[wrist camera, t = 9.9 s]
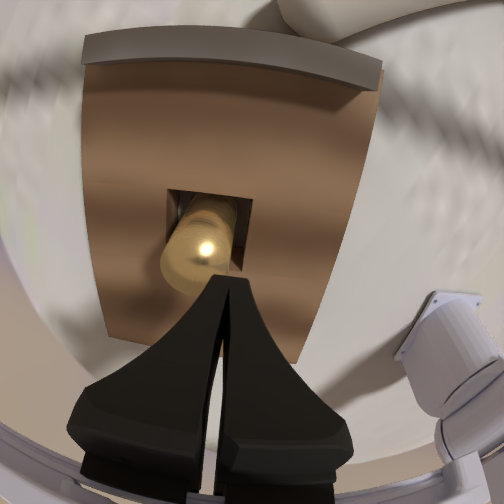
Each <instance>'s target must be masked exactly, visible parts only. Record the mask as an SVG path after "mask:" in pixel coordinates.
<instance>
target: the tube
mask: <svg viewBox="0 0 504 504" xmlns="http://www.w3.org/2000/svg"><path fill="white" fill-rule="evenodd" d="M276 1H277V3H278V6H279V9H280V12H281V15H282V18H283V20H284V21H285V22H286V23H287V24H288V25H289V26H290V27H291V28H292V29H293V30H294V31H295V32H296V33H297V34H298V35H299V36H300V37H302V38H307V39H311V40H316V41H320V42H324V43H328V44H332V43H334V42H337V41H339V40H341V39H343V38H346V37H348V36H351V35H353V34H355V33H358V32H360V31H363V30H365V29H368V28H371V27H373V26H376V25H379V24H381V23H384V22H387V21H390V20H393V19H396V18H399V17H402V16H405V15H408V14H412V13H415V12H419V11H422V10H426V9H430V8H434V7H438V6H442V5H446V4H451V3H456V2H461V1H466V0H276Z"/></svg>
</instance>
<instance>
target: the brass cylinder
mask: <svg viewBox="0 0 504 504" xmlns="http://www.w3.org/2000/svg"><path fill="white" fill-rule="evenodd" d="M236 217H237V205H236V202H235V200H234V199H233V197H232V196H227V195H220V194H212V193H203V192H198V193H197V194H196V195H195V196H194V197H193V199H192V200H191V202H190V204H189V206H188V207H187V209H186V211H185V213H184V214H183V216H182V218H181V220H180V221H179V223H178V225H177V227H176V229H175V230H174V232H173V234H172V236H171V238H170V240H169V242H168V243H167V245H166V247H165V249H164V251H163V253H162V255H161V259H160V268H161V272H162V274H163V276H164V278H165V280H166V281H167V282H168V283H169V284H170V285H171V286H172V287H173V288H174V289H176V290H177V291H179V292H181V293H184V294H187V295H191V296H199V295H200V294H201V292H202V291H203V289H204V288H205V286H206V285H207V283H208V281H209V279H210V277H211V276H212V275H214V274H218V275H225V276H228V271H229V264H230V257H231V250H232V243H233V237H234V230H235V224H236Z"/></svg>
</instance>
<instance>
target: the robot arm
mask: <svg viewBox="0 0 504 504" xmlns="http://www.w3.org/2000/svg"><path fill="white" fill-rule="evenodd" d="M482 300H483V297H482V295H476V294H465V293H454V292H443V291H436V292H434V293H433V294H432V296H431V298H430V300H429V302H428V303H427V305H426V307H425V309H424V310H423V312H422V314H421V315H420V317H419V319H418V320H417V322H416V324H415V325H414V327H413V329H412V330H411V332H410V333H409V335H408V337H407V338H406V340H405V341H404V343H403V344H402V346H401V347H400V349H399V350H398V352H397V353H396V355H395V356H394V359H395V361H401V362H402V364H403V367H404V369H405V372H406V374H407V377H408V380H409V382H410V385H411V387H412V390H413V393H414V396H415V398H416V401H417V403H418V404H419V406H420V407H421V409H422V410H423V411H424V412H426V413H427V414H428V415H430V416H433V417H438V418H440V419H439V420H438V421H437V423H436V428H435V434H434V439H435V445H436V449H437V452H438V454H439V456H440V458H441V460H442V461H443V463H444V464H445V465H444V466H443V467H442V468H440V469H437V470H435V471H432V472H429V473H426V474H423V475H420V476H417V477H413V478H410V479H406V480H403V481H399V482H395V483H391V484H387V485H383V486H379V487H374V488H369V489H364V490H359V491H353V492H346V493H340V494H334V488H333V483H334V482H336V469H338V468H339V467H340V466H342V465H343V464H345V463H346V462H347V461H348V460H349V459H350V458H351V457H352V456H353V453H354V449H353V444H352V439H351V436H350V433H349V430H348V427H347V424H346V421H345V420H344V419H343V418H342V417H341V416H339V415H338V414H337V413H336V412H335V411H333V410H332V409H331V408H330V407H329V406H328V405H326V404H325V403H324V402H323V401H322V400H321V399H320V398H319V397H318V396H317V395H316V394H315V393H314V392H313V391H312V390H311V389H310V388H309V387H308V385H307V384H306V383H305V382H304V381H303V380H302V378H301V377H300V376H299V375H298V374H297V373H296V371H295V370H294V369H293V368H292V366H291V365H290V364H289V362H288V361H287V360H286V358H285V357H284V355H283V354H282V352H281V351H280V349H279V348H278V346H277V345H276V343H275V341H274V340H273V338H272V336H271V334H270V332H269V331H268V329H267V327H266V325H265V323H264V321H263V319H262V316H261V314H260V312H259V310H258V307H257V305H256V302H255V299H254V296H253V293H252V290H251V286H250V281H249V280H248V279H247V278H241V277H233V276H225V275H218V274H214V275H212V276H211V277H210V279H209V281H208V283H207V285H206V286H205V288H204V289H203V291H202V292H201V294H200V295H199V297H198V298H197V299H196V300H195V302H194V303H193V304H192V306H191V307H190V308H189V309H188V311H187V312H186V313H185V314H184V315H183V316H182V317H181V318H180V320H179V321H178V322H177V323H176V324H175V325H174V326H173V327H172V328H171V329H170V330H169V331H168V332H167V333H166V334H165V335H164V336H163V337H162V338H160V339H159V340H158V341H157V342H156V343H155V344H153V345H152V346H151V347H150V348H149V349H147V350H146V351H145V352H143V353H142V354H141V355H140V356H138V357H137V358H135V359H134V360H132V361H131V362H129V363H128V364H126V365H125V366H123V367H122V368H120V369H119V370H117V371H115V372H114V373H112V374H110V375H108V376H107V377H105V378H103V379H101V380H99V381H97V382H95V383H93V384H91V385H90V386H88V387H85V389H84V390H83V392H82V394H81V395H80V397H79V399H78V400H77V402H76V404H75V406H74V409H73V411H72V414H71V416H70V419H69V421H68V424H67V432H68V434H69V435H70V436H71V438H72V439H73V440H74V441H75V442H76V443H77V444H78V445H79V446H80V447H81V448H82V449H83V450H84V451H85V456H84V459H83V462H82V463H80V462H77V461H75V460H72V459H70V458H68V457H65V456H63V455H61V454H58V453H56V452H54V451H52V450H50V449H48V448H46V447H44V446H42V445H40V444H38V443H36V442H34V441H32V440H30V439H29V438H27V437H25V436H23V435H21V434H20V433H18V432H16V431H15V430H13V429H11V428H10V427H8V426H6V425H5V424H3V423H2V422H0V497H2V498H3V499H4V500H6V501H7V502H8V503H9V504H117V503H115V502H113V501H111V500H110V499H109V498H107V497H104V496H102V495H99V494H97V493H94V492H92V491H89V490H87V489H85V488H83V487H82V486H81V485H80V483H81V484H84V485H87V486H89V487H91V488H94V489H97V490H100V491H102V492H106V493H108V494H111V495H114V496H118V497H121V498H124V499H128V500H131V501H134V502H138V503H142V504H485V503H487V502H488V501H489V500H490V499H491V502H492V504H504V446H503V447H502V448H500V449H499V450H497V451H496V452H495V453H493V454H492V455H490V456H488V457H486V458H482V457H483V456H485V455H486V454H488V453H489V452H491V451H492V450H494V449H495V448H497V447H498V446H500V445H501V444H502V443H504V354H503V353H502V351H501V350H500V348H499V346H498V345H497V343H496V342H495V340H494V338H493V337H492V335H491V334H490V332H489V331H488V329H487V328H486V326H485V325H484V323H483V322H482V320H481V319H480V318H479V316H478V315H477V313H476V310H477V309H478V307H479V305H480V304H481V302H482ZM222 342H223V394H222V407H221V417H220V427H219V438H218V448H217V459H216V470H215V481H214V492H213V495H204V494H199V490H200V489H201V482H202V470H203V459H204V450H205V441H206V431H207V422H208V413H209V405H210V397H211V391H212V386H213V381H214V377H215V373H216V368H217V364H218V360H219V355H220V351H221V346H222ZM480 458H482V459H480ZM78 482H79V483H78Z"/></svg>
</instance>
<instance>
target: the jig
mask: <svg viewBox="0 0 504 504" xmlns="http://www.w3.org/2000/svg"><path fill="white" fill-rule="evenodd" d="M382 62H383V61H382V60H379V59H376V58H373V57H370V56H368V55H365V54H362V53H359V52H355V51H352V50H349V49H346V48H342V47H339V46H335V45H331V44H328V43H324V42H320V41H316V40H311V39H307V38H302V37H297V36H292V35H287V34H281V33H275V32H269V31H262V30H254V29H245V28H235V27H222V26H198V25H176V26H152V27H139V28H129V29H121V30H113V31H107V32H100V33H95V34H89V35H85V39H84V46H83V52H82V59H81V64H84V65H86V68H85V77H84V88H83V102H82V129H81V152H82V179H83V194H84V206H85V215H86V224H87V232H88V240H89V246H90V253H91V259H92V265H93V270H94V275H95V281H96V286H97V290H98V295H99V299H100V304H101V308H102V312H103V316H104V320H105V324H106V328H107V331H108V335H109V337H113V338H117V339H122V340H126V341H131V342H135V343H140V344H145V345H150V346H152V345H153V344H155V343H156V342H157V341H158V340H159V339H160V338H162V337H163V336H164V335H165V334H166V333H167V332H168V331H169V330H170V329H171V328H172V327H173V326H174V325H175V324H176V323H177V322H178V321H179V320H180V318H181V317H182V316H183V315H184V314H185V313H186V312H187V311H188V309H189V308H190V307H191V306H192V304H193V303H194V302H195V300H196V299H197V298H198V297H199V296H191V295H187V294H184V293H181V292H179V291H177V290H176V289H174V288H173V287H172V286H171V285H170V284H169V283H168V282H167V281H166V280H165V278H164V276H163V274H162V272H161V268H160V259H161V255H162V253H163V251H164V249H165V247H166V245H167V243H168V242H169V240H170V238H171V236H172V234H173V232H174V230H175V229H176V227H177V224H178V199H179V190H186V191H195V192H203V193H212V194H220V195H227V196H235V197H242V198H250V199H251V204H250V210H249V217H248V223H247V230H246V236H245V243H244V248H241V247H233V246H232V250H231V257H230V264H229V271H228V276H233V277H241V278H247V279H248V280H249V281H250V286H251V290H252V293H253V296H254V299H255V302H256V305H257V307H258V310H259V312H260V314H261V316H262V319H263V321H264V323H265V325H266V327H267V329H268V331H269V332H270V334H271V336H272V338H273V340H274V341H275V343H276V345H277V346H278V348H279V349H280V351H281V352H282V354H283V355H284V357H285V358H286V360H287V361H288V362H289V363H290V364H296V363H297V361H298V358H299V356H300V354H301V351H302V349H303V346H304V344H305V342H306V339H307V337H308V334H309V332H310V329H311V327H312V324H313V322H314V319H315V316H316V314H317V311H318V309H319V306H320V303H321V301H322V298H323V295H324V292H325V290H326V287H327V284H328V281H329V278H330V276H331V273H332V270H333V267H334V264H335V261H336V258H337V255H338V252H339V249H340V246H341V243H342V240H343V237H344V233H345V230H346V227H347V224H348V221H349V217H350V214H351V210H352V207H353V204H354V200H355V197H356V193H357V190H358V186H359V182H360V179H361V175H362V171H363V167H364V163H365V159H366V155H367V151H368V147H369V143H370V139H371V134H372V130H373V125H374V121H375V116H376V111H377V107H378V102H379V96H380V91H381V86H382V80H383V75H384V70H382V69H381V68H382ZM219 357H223V342H222V346H221V351H220V355H219Z"/></svg>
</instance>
